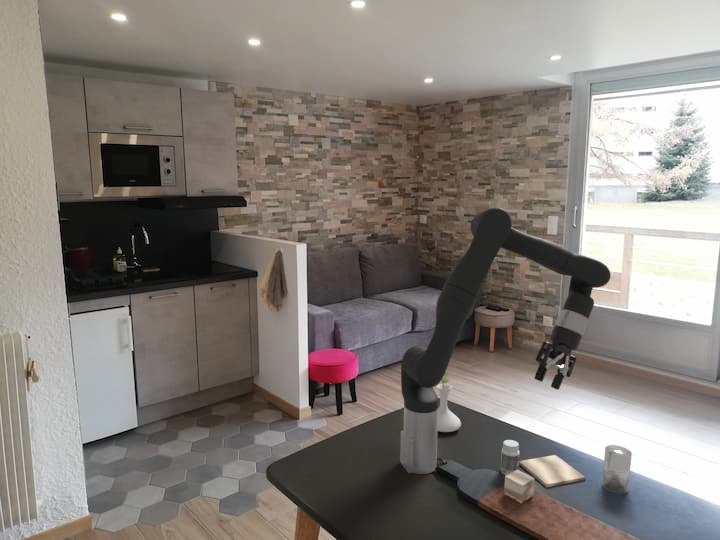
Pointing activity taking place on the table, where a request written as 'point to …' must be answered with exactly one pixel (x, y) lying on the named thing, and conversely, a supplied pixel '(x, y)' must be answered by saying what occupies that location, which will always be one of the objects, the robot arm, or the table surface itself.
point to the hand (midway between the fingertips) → (546, 384)
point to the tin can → (616, 469)
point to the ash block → (519, 484)
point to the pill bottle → (510, 457)
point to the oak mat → (551, 470)
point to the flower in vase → (446, 409)
